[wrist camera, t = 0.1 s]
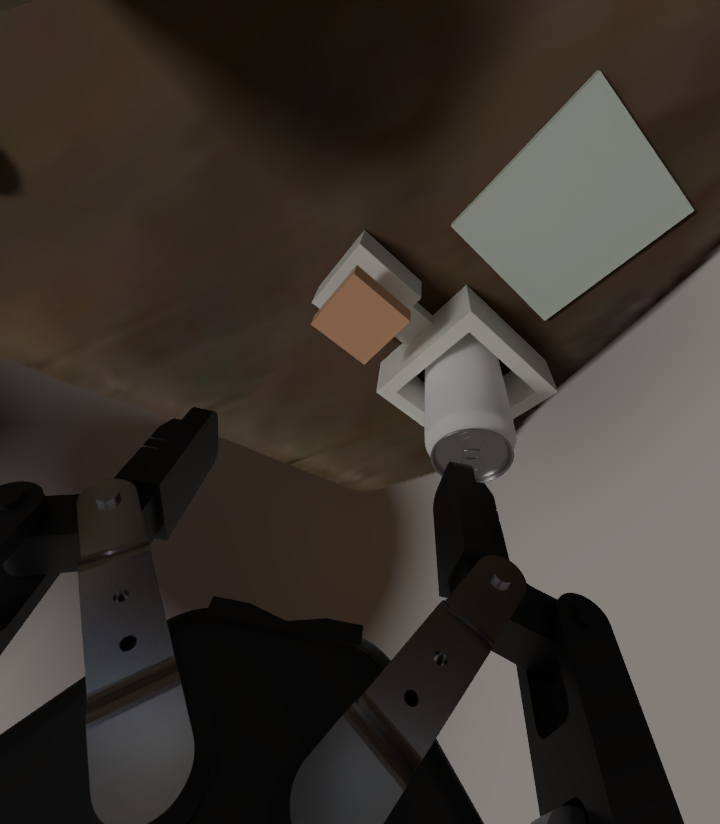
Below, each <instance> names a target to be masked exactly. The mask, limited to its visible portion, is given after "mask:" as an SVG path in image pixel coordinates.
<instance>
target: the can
mask: <svg viewBox="0 0 720 824" xmlns="http://www.w3.org/2000/svg"><path fill="white" fill-rule="evenodd" d="M515 444H516V432H515V427H514V422H513V418H512V413H511V409H510V405H509V401H508V396H507V392H506V388H505V384H504V380H503V375H502V371H501V367H500V363H499V359H498V358H497V357H496V356H495V355H494V354H493V353H492V352H491V351H490V350H488V349H487V348H486V347H485V346H484V345H483V344H482V343H481V342H480V341H478V340H477V339H476V338H475V337H474V336H473V335H472V334H471V333H468V334H466V335H465V336H464V337H463V338H461V339H460V340H459V341H458V342H457V343H455V344H454V345H453V346H452V347H451V348H449V349H448V350H447V351H446V352H444V353H443V354H442V355H441V356H440V357H438V358H437V359H436V360H435V361H433V362H432V363H431V364H430V365H429V366H427V367H426V368H425V446H426V449H427V452H428V454H429V456H430V457H431V463H432V466H433V468H434V469H435V470H436V472H437V473H439V474H440V475H441V476H443V474H444V472H445V469H446V467H447V465H448V463H449V462H450V461H452V462H457V463H462V464H467V465H471V466H472V467H473V470H474V475H475V479H476V482H480V483H484V482H487V481H490V480H493V479H496V478H498V477H499V476H501V475H502V474H504V473H505V472H506V471H507V470H508V469H509V468H510V466H511V464H512V462H513V459H514V451H513V450H514V448H515Z"/></svg>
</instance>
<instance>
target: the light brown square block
mask: <svg viewBox="0 0 720 824" xmlns="http://www.w3.org/2000/svg"><path fill="white" fill-rule="evenodd" d="M410 318H411V311H410V310H409V309H408V308H407V307H406V306H404V305H403V304H402V303H401V302H400V301H399V300H397V299H396V298H395V297H394V296H393V295H392V294H391V293H389V292H388V291H387V290H386V289H385V288H384V287H382V286H381V285H380V284H379V283H378V282H377V281H375V280H374V279H373V278H372V277H371V276H370V275H368V274H367V273H366V272H365V271H364V270H363V269H361V268H360V267H359V266H358V265H356V266H355V268H354V269H353V270H352V271H351V272H350V274H349V275H348V276H347V277H346V278H345V280H344V281H343V282H342V283H341V284H340V285H339V287H338V288H337V289H336V290H335V291H334V293H333V294H332V295H331V296H330V297H329V299H328V300H327V301H326V302H325V303H324V304H323V306H322V307H321V308H320V309H319V310H318V312H317V313H316V314H315V316H314V318H313V320H312V323H311V325H312V326H314V327H315V328H316V329H318V330H319V331H320V332H322V333H323V334H324V335H326V336H327V337H328V338H330V339H331V340H332V341H334V342H335V343H336V344H338V345H339V346H340V347H342V348H343V349H344V350H346V351H347V352H348V353H349V354H351V355H352V356H353V357H355V358H356V359H357V360H359V361H360V362H361V363H363V364H366V363H367V362H368V361H369V360H370V359H371V358H372V357H373V356H374V355H375V354H376V353H377V352H378V351H379V350H380V349H381V348H383V347H384V346H385V345H386V344H387V343H388V342H389V341H390V340H391V339H392V338H393V337H394V336H395V335H396V334H397V333H398V332H400V331H401V330H402V329H403V328H404V327H405V326H406V325H407V324H408V323H409V322H410Z"/></svg>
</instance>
